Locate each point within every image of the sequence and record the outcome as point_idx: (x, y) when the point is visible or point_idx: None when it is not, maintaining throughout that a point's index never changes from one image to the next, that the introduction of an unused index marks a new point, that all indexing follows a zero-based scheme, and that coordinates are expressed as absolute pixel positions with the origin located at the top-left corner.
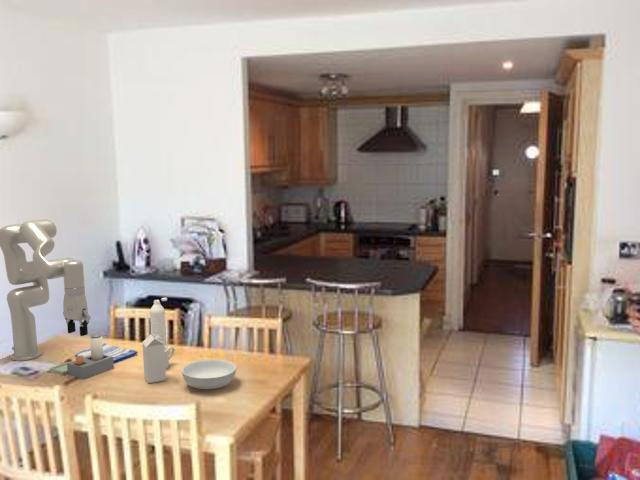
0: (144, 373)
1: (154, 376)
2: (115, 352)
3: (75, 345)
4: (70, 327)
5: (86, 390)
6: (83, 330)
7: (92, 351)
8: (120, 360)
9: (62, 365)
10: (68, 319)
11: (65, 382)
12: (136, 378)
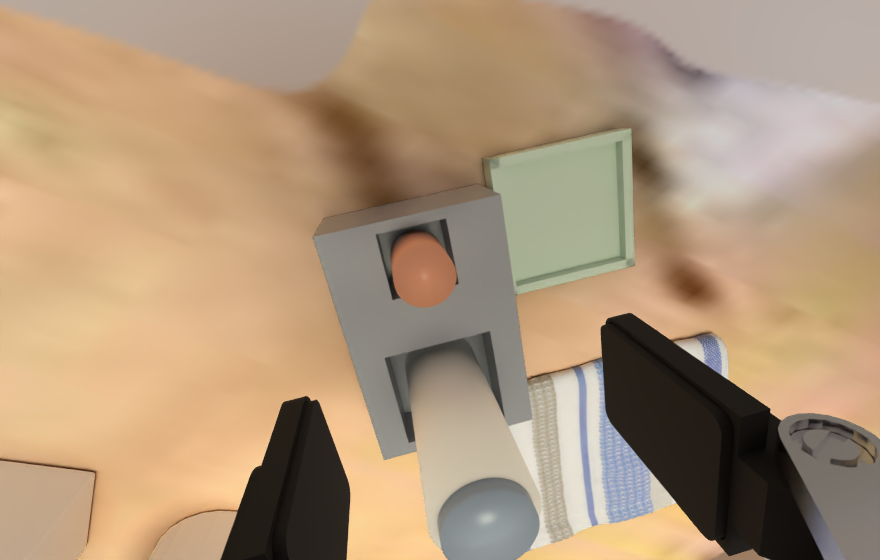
0: (61, 494)
1: None
2: (579, 489)
3: (848, 392)
4: (661, 401)
5: (93, 146)
6: (236, 516)
7: (445, 391)
8: None
9: (620, 214)
10: (864, 542)
11: (358, 112)
12: (122, 440)
